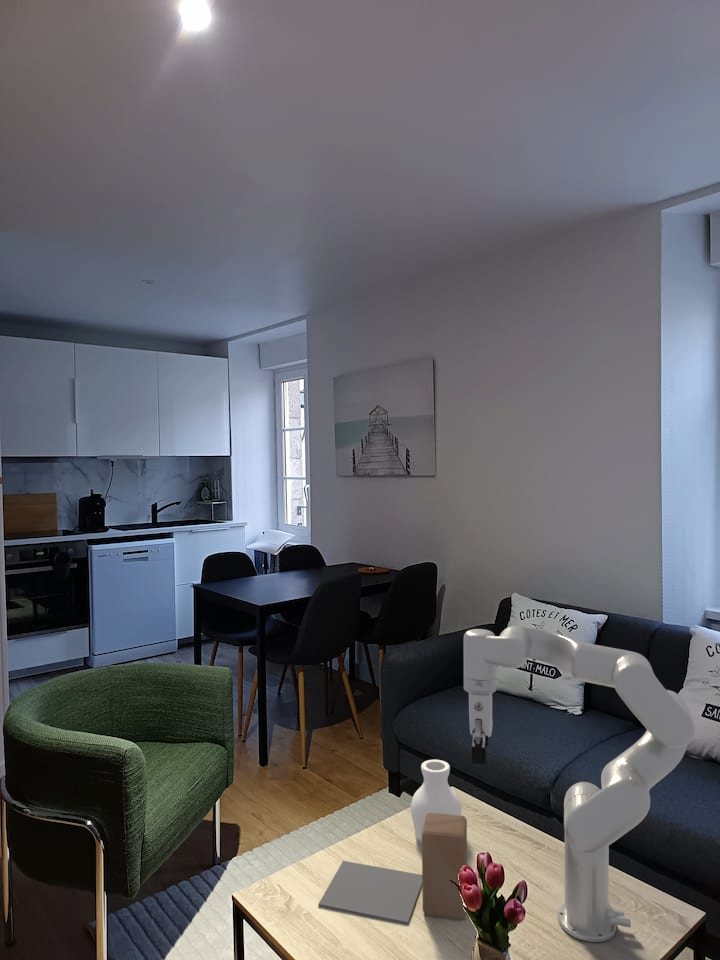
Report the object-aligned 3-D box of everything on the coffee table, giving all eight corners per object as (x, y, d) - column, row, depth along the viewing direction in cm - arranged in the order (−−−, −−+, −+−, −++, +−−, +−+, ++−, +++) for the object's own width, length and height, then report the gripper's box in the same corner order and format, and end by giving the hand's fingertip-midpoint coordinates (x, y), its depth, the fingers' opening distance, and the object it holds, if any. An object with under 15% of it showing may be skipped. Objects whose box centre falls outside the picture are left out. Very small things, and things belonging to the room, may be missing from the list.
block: (465, 922, 155) (464, 837, 154) (422, 917, 157) (421, 832, 156) (467, 894, 165) (466, 814, 164) (426, 889, 167) (425, 810, 166)
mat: (424, 877, 172) (424, 875, 171) (408, 924, 154) (407, 922, 154) (343, 862, 178) (343, 860, 178) (318, 906, 161) (318, 904, 161)
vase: (402, 827, 195) (401, 759, 194) (446, 817, 200) (445, 750, 199) (425, 854, 182) (424, 781, 181) (471, 842, 187) (470, 771, 186)
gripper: (494, 696, 150) (494, 772, 151) (497, 672, 167) (497, 740, 167) (460, 694, 152) (461, 769, 152) (466, 670, 168) (467, 737, 169)
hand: (480, 754), depth 160 cm, fingers open, 9 cm apart
